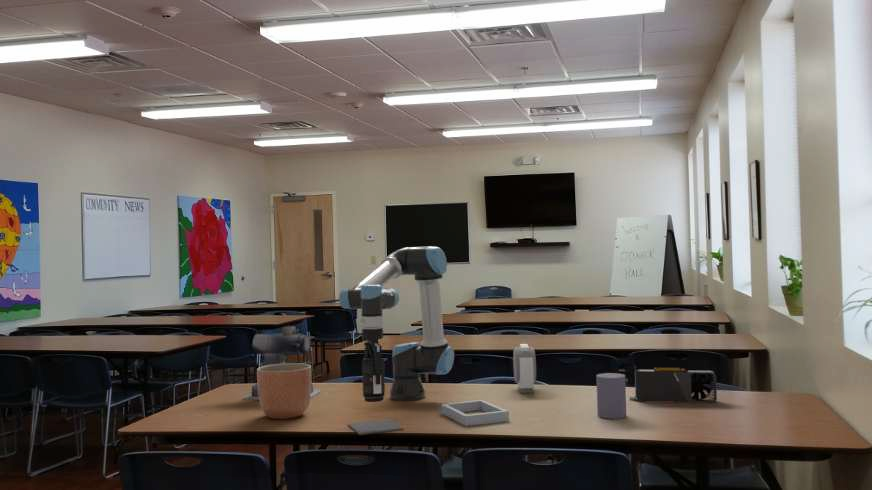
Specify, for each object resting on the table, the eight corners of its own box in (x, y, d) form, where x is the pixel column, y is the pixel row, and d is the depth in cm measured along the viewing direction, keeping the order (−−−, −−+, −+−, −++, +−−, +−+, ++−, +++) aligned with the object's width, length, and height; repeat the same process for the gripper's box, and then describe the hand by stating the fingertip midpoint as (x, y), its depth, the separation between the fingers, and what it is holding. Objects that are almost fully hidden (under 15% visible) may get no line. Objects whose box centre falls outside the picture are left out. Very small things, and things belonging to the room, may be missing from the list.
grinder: (258, 391, 346) (256, 325, 346) (322, 392, 340) (320, 324, 340) (240, 399, 327) (238, 329, 328) (308, 400, 322) (306, 328, 322)
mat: (347, 425, 273) (347, 423, 273) (389, 420, 278) (389, 418, 278) (359, 435, 258) (359, 433, 258) (403, 429, 263) (403, 427, 263)
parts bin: (441, 413, 288) (441, 404, 288) (482, 408, 294) (482, 399, 294) (465, 426, 266) (465, 416, 266) (509, 420, 272) (508, 411, 272)
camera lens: (382, 402, 263) (381, 360, 263) (360, 402, 265) (358, 360, 265) (388, 398, 271) (387, 356, 271) (366, 397, 273) (365, 356, 273)
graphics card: (629, 401, 300) (628, 365, 300) (629, 399, 304) (628, 364, 304) (717, 404, 292) (716, 367, 292) (715, 401, 296) (714, 365, 296)
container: (610, 420, 268) (609, 379, 268) (591, 415, 277) (590, 375, 277) (632, 417, 272) (631, 375, 273) (613, 412, 282) (612, 372, 282)
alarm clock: (537, 393, 320) (535, 346, 320) (517, 394, 320) (516, 347, 320) (532, 386, 338) (531, 341, 338) (513, 386, 338) (512, 342, 338)
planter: (253, 414, 297) (252, 366, 297) (305, 408, 305) (304, 361, 305) (263, 424, 278) (262, 373, 278) (318, 418, 286) (316, 368, 286)
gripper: (354, 326, 277) (356, 387, 276) (370, 331, 257) (372, 397, 257) (374, 324, 279) (375, 385, 279) (391, 329, 260) (392, 395, 260)
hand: (374, 391), depth 268 cm, fingers closed on camera lens, 8 cm apart
